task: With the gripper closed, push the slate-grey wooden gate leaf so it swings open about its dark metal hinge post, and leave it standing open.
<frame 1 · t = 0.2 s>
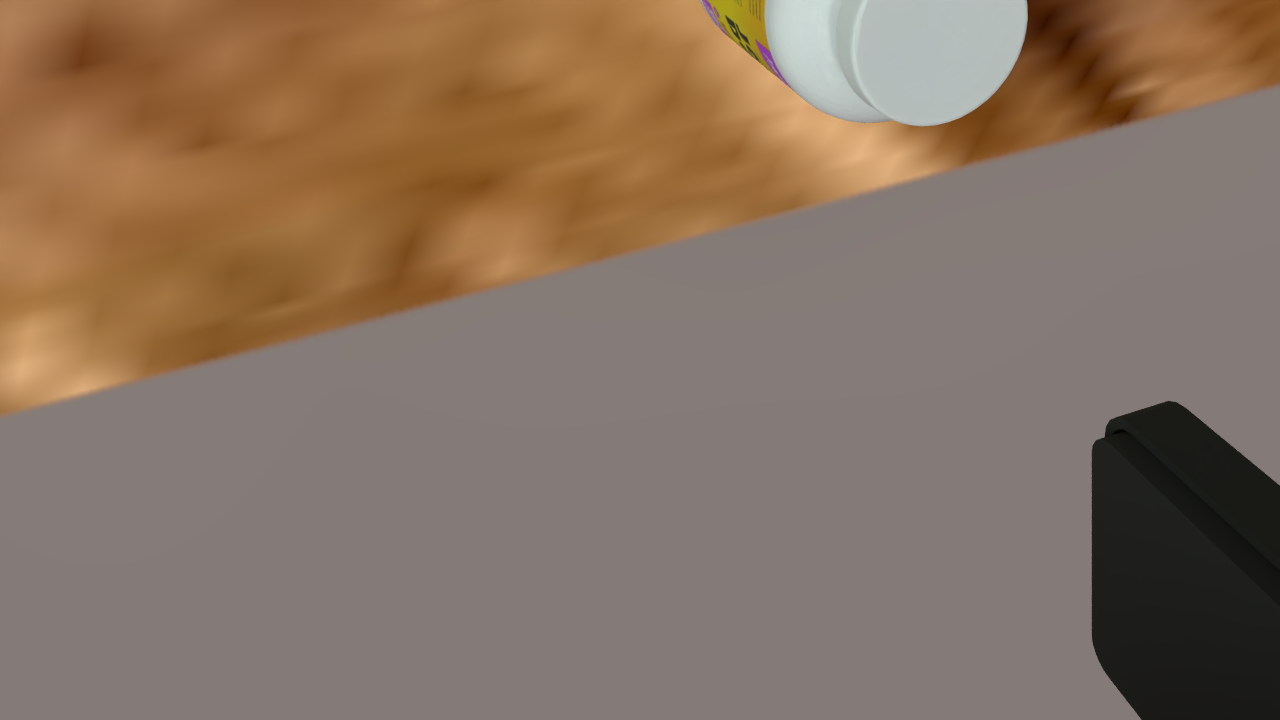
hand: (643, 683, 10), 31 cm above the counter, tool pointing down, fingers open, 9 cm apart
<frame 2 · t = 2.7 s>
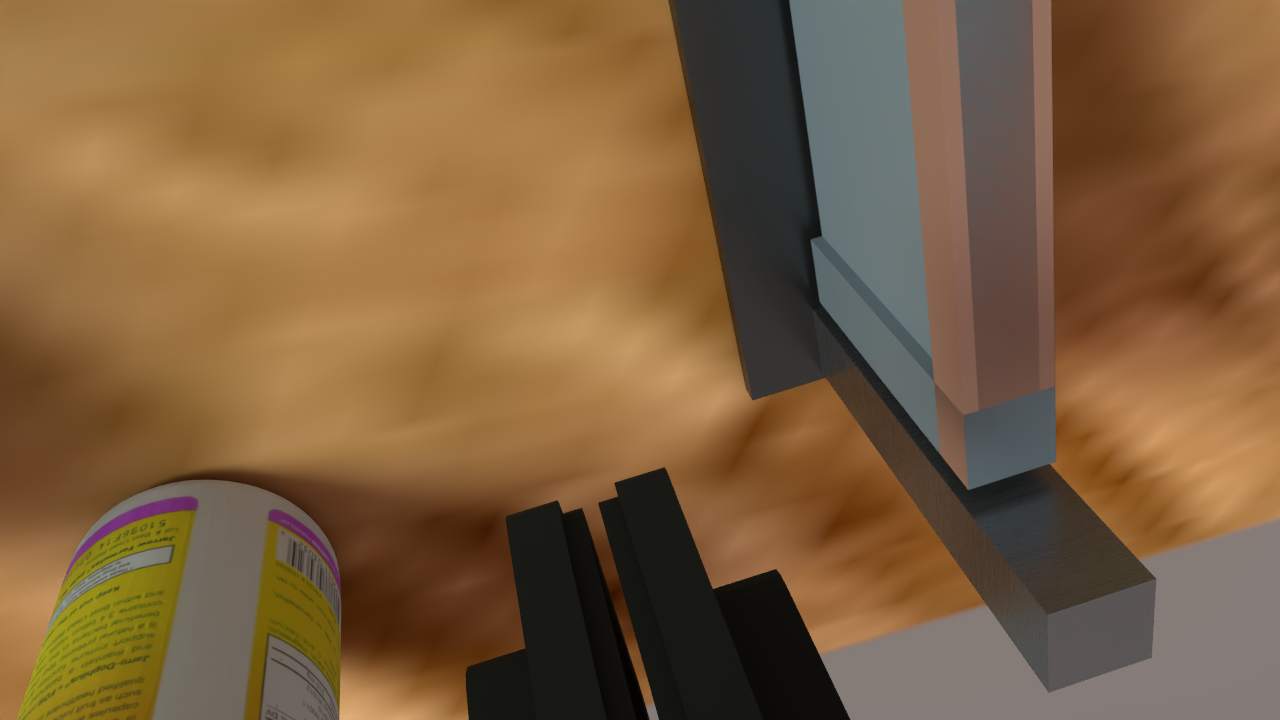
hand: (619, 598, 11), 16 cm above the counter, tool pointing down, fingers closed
supplement bottle: (214, 565, 29), on the counter
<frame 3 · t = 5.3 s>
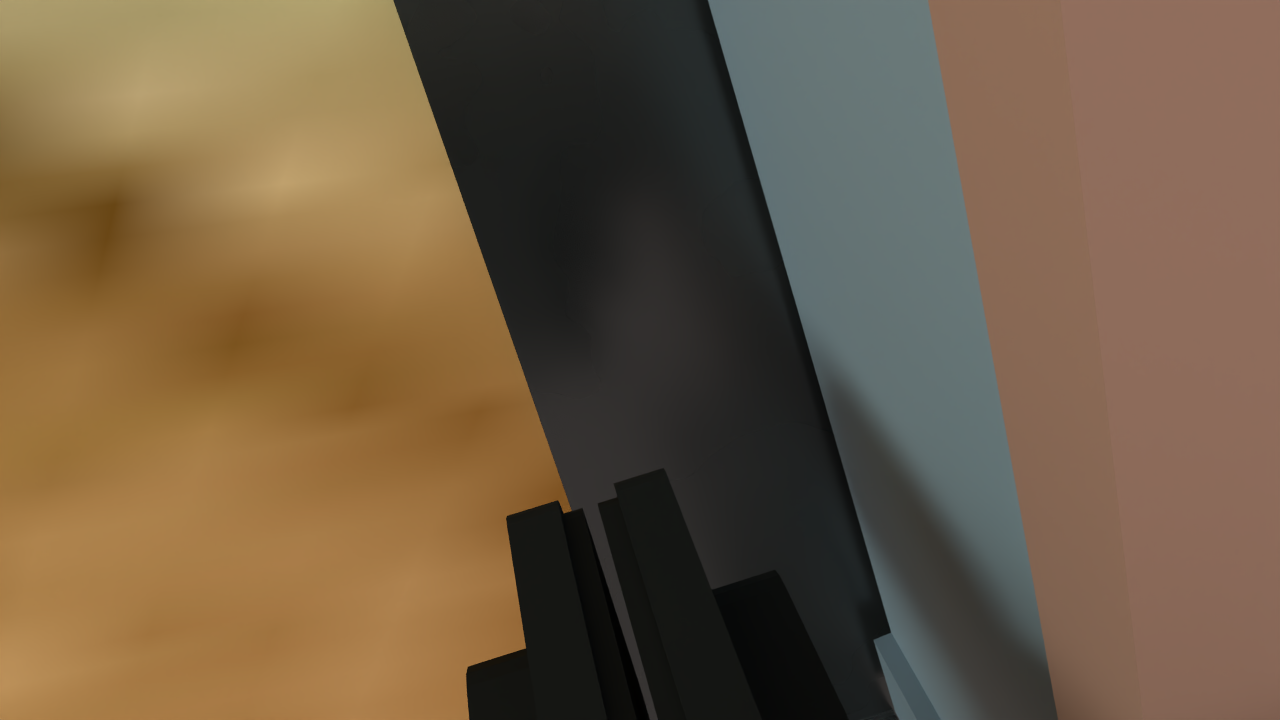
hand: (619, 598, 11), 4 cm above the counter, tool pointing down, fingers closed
gate: (968, 223, 8), point 5 cm above the counter, hinge at 5.1°, touching gripper
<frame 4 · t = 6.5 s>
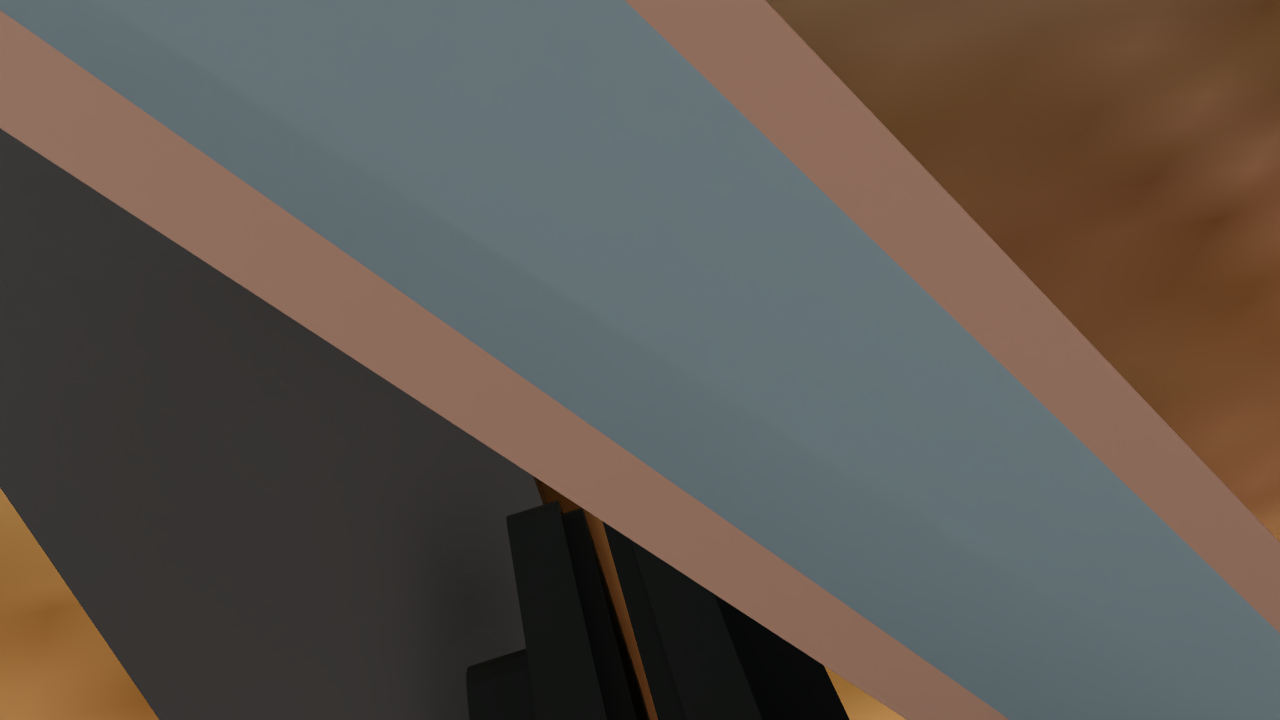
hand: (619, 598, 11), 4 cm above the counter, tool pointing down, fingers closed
gate: (738, 221, 8), point 5 cm above the counter, hinge at 32.9°, touching gripper
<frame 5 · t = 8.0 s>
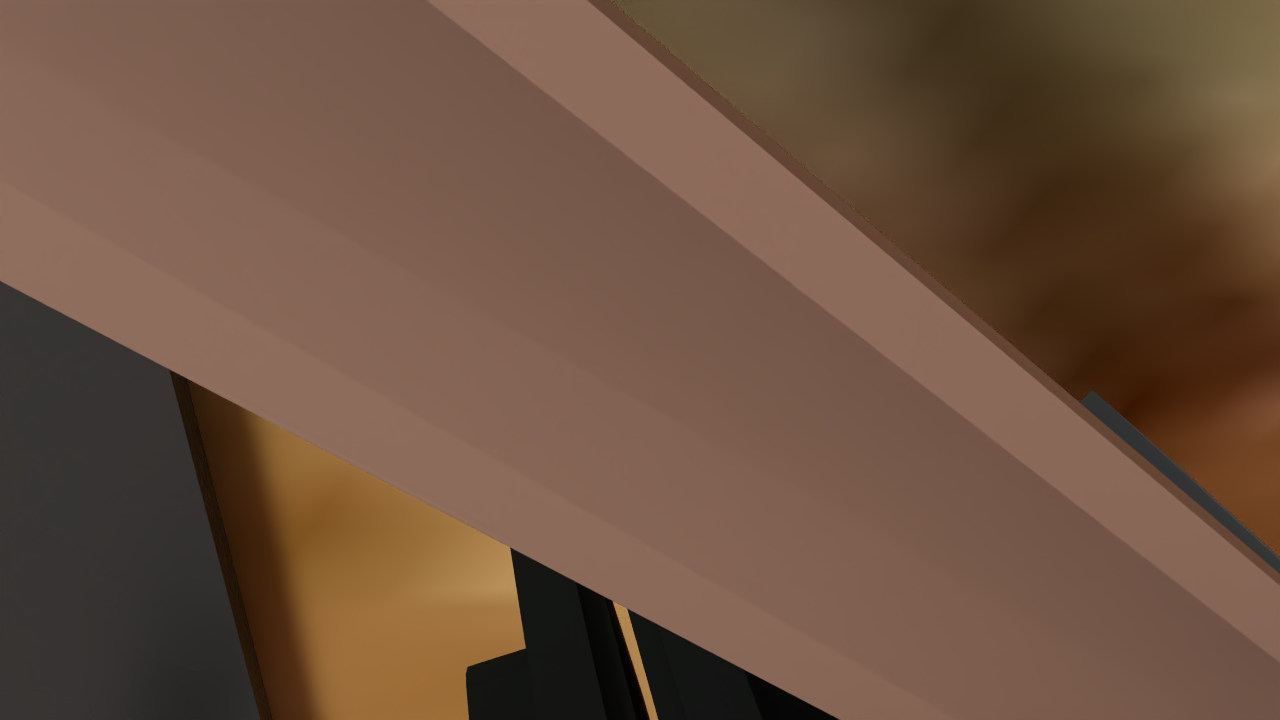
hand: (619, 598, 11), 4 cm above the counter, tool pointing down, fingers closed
gate: (621, 173, 7), point 5 cm above the counter, hinge at 48.6°, touching gripper
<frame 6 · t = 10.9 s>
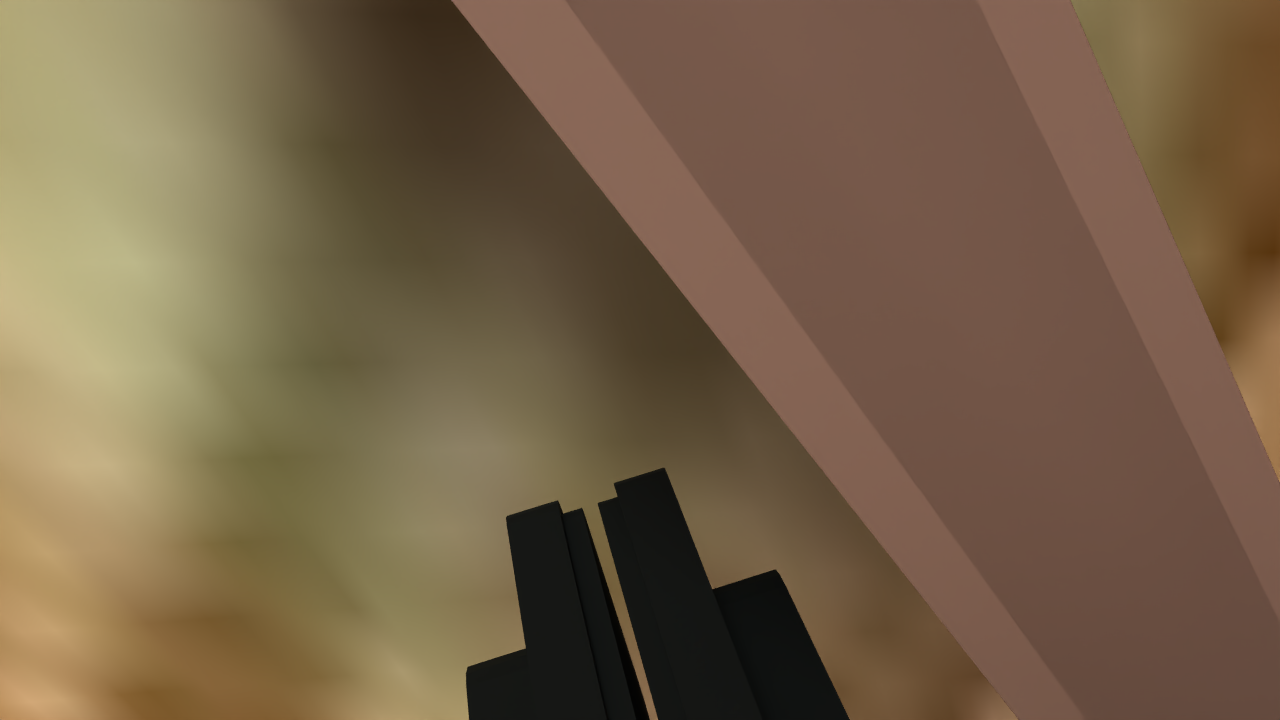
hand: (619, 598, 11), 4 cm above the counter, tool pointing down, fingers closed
gate: (750, 104, 8), point 5 cm above the counter, hinge at 92.0°, touching gripper
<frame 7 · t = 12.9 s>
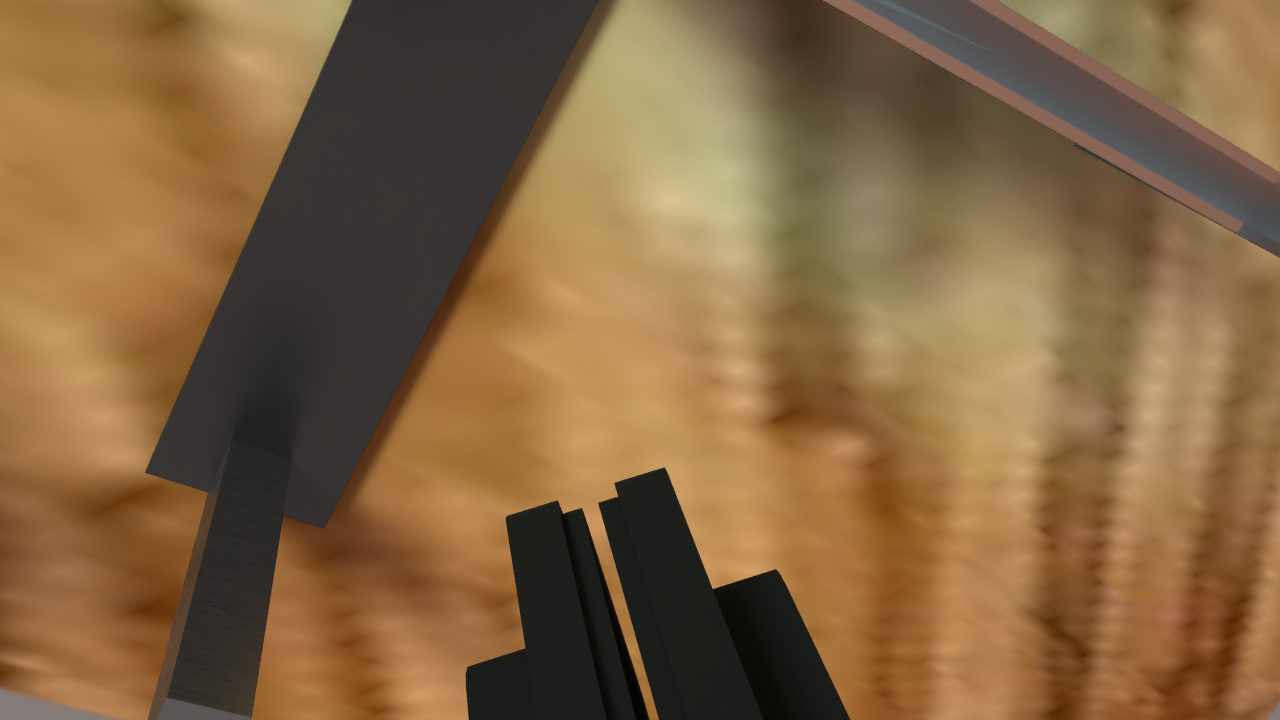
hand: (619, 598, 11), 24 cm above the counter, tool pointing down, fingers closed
gate: (935, 23, 28), point 6 cm above the counter, hinge at 92.1°
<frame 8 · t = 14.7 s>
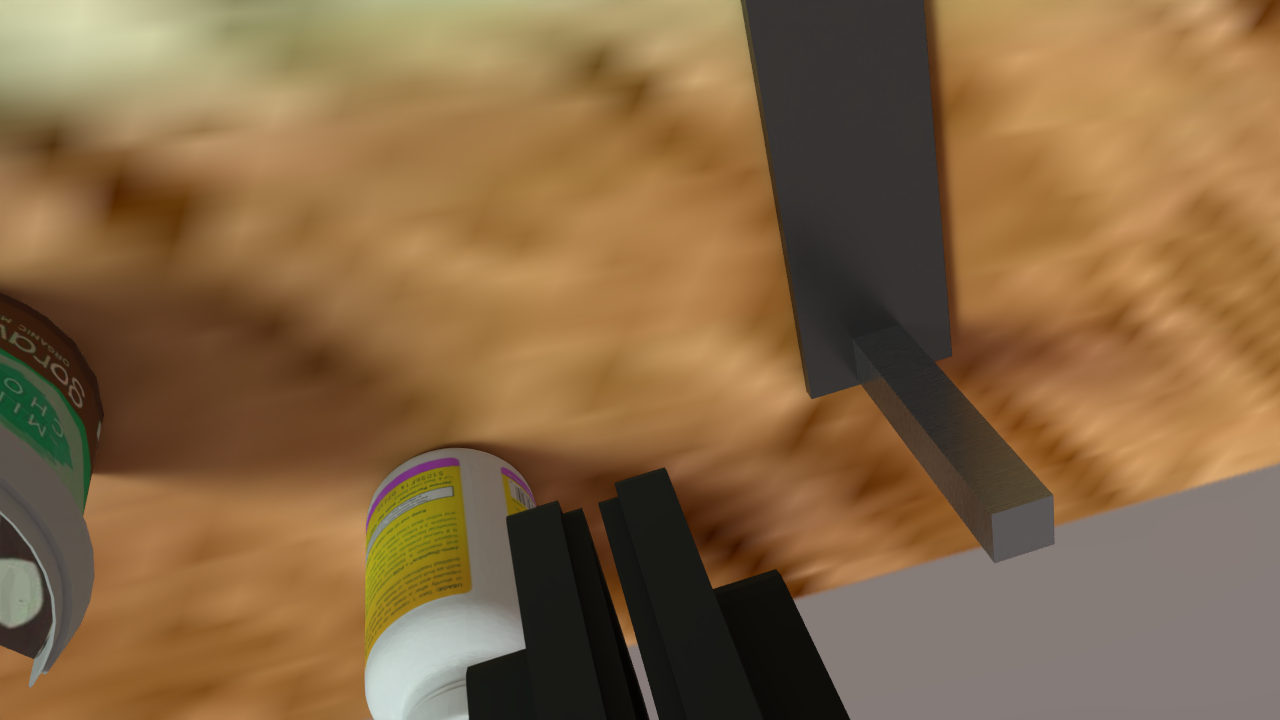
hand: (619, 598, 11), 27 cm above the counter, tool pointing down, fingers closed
supplement bottle: (452, 507, 43), on the counter
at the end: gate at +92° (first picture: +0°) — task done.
